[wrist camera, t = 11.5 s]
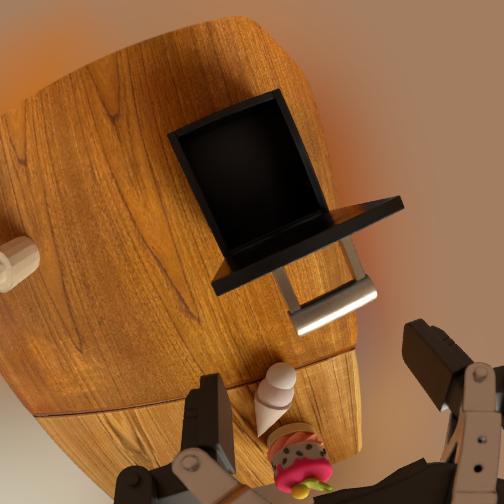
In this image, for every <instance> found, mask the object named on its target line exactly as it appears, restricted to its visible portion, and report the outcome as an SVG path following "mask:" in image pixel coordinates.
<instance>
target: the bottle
mask: <svg viewBox="0 0 504 504" xmlns="http://www.w3.org/2000/svg"><path fill="white" fill-rule="evenodd" d="M39 262H40V254H39V250H38V248H37V246H36V244H35V243H34V241H33V240H32V239H30V238H29V237H26V236H20V237H17V238H15V239H13V240H11V241H9V242H7V243H5V244H3V245H1V246H0V292H8V291H9V290H10V289H12V288H13V287H14V286H16V285H17V284H18V283H20V282H21V281H22V280H23V279H25V278H26V277H27V276H29V275H30V274H31V273H33V272H34V271H35V270H36V269H37V268H38V266H39Z"/></svg>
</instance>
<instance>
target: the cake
mask: <svg viewBox="0 0 504 504" xmlns="http://www.w3.org/2000/svg"><path fill="white" fill-rule="evenodd" d="M318 439H319V438H318V436H317V433H316V431H315V429H314V427H313V426H311V425H310V424H307V423H291V424H287V425H284V426H282V427H279V428H278V429H276V430H275V431H273V432H272V433H271V434H270V435H269V437H268V439H267V446H268V453H267V460H268V461H269V462H270V464H271V465H272V467H273V470H274V480H275V484H276V487H277V488H278V489H280V490H281V491H284V492H289V493H291V494H292V496H293V497H294V498H296V499H303V498H305V497H306V496H307V495H308V494H309V490H311V489H316V490H319V491H323V490H325V491H326V492H327V493H331V492H332V491H331V489H332V486H330V485H328V484H326V483H324V482H326V481H327V480H328V479H329V478H330V476H331V474H332V466H331V464H330V461H329V460H328V459H327V458H326V450H325V449H323V448H322V445H323V442H321V441H318Z"/></svg>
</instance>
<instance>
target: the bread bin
mask: <svg viewBox="0 0 504 504" xmlns="http://www.w3.org/2000/svg"><path fill="white" fill-rule="evenodd" d="M167 137H168V139H169V141H170V143H171V145H172V148H173V150H174V152H175V154H176V156H177V159H178V161H179V163H180V165H181V167H182V170H183V172H184V174H185V176H186V178H187V180H188V183H189V185H190V187H191V189H192V191H193V193H194V195H195V197H196V200H197V202H198V204H199V206H200V208H201V210H202V212H203V214H204V217H205V219H206V221H207V223H208V225H209V227H210V229H211V231H212V233H213V235H214V237H215V240H216V242H217V244H218V246H219V248H220V250H221V252H222V254H223V256H224V258H227V257H229V256H231V255H234V254H236V253H238V252H240V251H242V250H245V249H247V248H249V247H251V246H253V245H255V244H258V243H260V242H262V241H264V240H266V239H269V238H271V237H273V236H275V235H277V234H280V233H282V232H284V231H286V230H288V229H291V228H293V227H295V226H297V225H299V224H302V223H304V222H306V221H308V220H310V219H313V218H315V217H317V216H319V215H321V214H324V213H326V212H328V211H329V209H328V206H327V204H326V201H325V198H324V195H323V193H322V190H321V187H320V185H319V182H318V179H317V177H316V174H315V172H314V169H313V166H312V164H311V161H310V159H309V156H308V154H307V151H306V149H305V146H304V144H303V142H302V139H301V137H300V134H299V132H298V130H297V127H296V125H295V123H294V120H293V118H292V116H291V113H290V111H289V109H288V107H287V104H286V102H285V100H284V98H283V95H282V93H281V91H280V89H276V90H273V91H270V92H267V93H264V94H262V95H259V96H256V97H253V98H251V99H248V100H245V101H243V102H240V103H238V104H235V105H233V106H230V107H228V108H225V109H223V110H220V111H218V112H215V113H213V114H211V115H208V116H206V117H204V118H202V119H199V120H197V121H195V122H193V123H190V124H188V125H186V126H184V127H182V128H180V129H177V130H175V132H174V131H173V132H171V133H169V134H167Z"/></svg>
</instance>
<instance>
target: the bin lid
mask: <svg viewBox="0 0 504 504" xmlns="http://www.w3.org/2000/svg"><path fill="white" fill-rule="evenodd" d="M402 209H404V205H403V202H402V200H401V197H400V196H396V197H391V198H386V199H381V200H376V201H372V202H367V203H363V204H358V205H354V206H349V207H344V208H340V209H335V210H331V211H328V212H326V213H324V214H321V215H319V216H317V217H315V218H313V219H310V220H308V221H306V222H304V223H302V224H299V225H297V226H295V227H293V228H291V229H288V230H286V231H284V232H282V233H280V234H277V235H275V236H273V237H271V238H269V239H266V240H264V241H262V242H260V243H258V244H255V245H253V246H251V247H249V248H247V249H245V250H242V251H240V252H238V253H236V254H234V255H231V256H229V257H227V258H225V259H224V261H223V262H222V264H221V266H220V268H219V270H218V271H217V273H216V275H215V277H214V279H213V280H212V282H211V285H212V287H213V289H214V291H215V293H216V295H217V296H220V295H222V294H224V293H227V292H229V291H231V290H233V289H236V288H238V287H240V286H242V285H244V284H247V283H249V282H251V281H253V280H255V279H258V278H260V277H262V276H264V275H266V274H269V273H271V272H272V274H273V276H274V278H275V280H276V282H277V285H278V287H279V289H280V291H281V294H282V296H283V298H284V300H285V303H286V305H287V307H288V309H289V311H287V313H288V316H289V318H290V320H291V323H292V325H293V327H294V329H295V331H296V333H297V335H298V337H302V336H304V335H306V334H308V333H310V332H312V331H314V330H316V329H318V328H321V327H323V326H325V325H327V324H329V323H331V322H333V321H335V320H337V319H339V318H341V317H343V316H344V315H346V314H348V313H350V312H352V311H354V310H356V309H358V308H360V307H362V306H364V305H365V304H367V303H369V302H371V301H372V300H375V299H376V298H377V291H376V288H375V285H374V283H373V282H372V280H371V278H370V277H369V276H368V275H367V274H365V273H364V270H363V267H362V265H361V262H360V260H359V257H358V254H357V252H356V250H355V247H354V244H353V242H352V239H351V237H350V235H351V234H353V233H355V232H357V231H360V230H362V229H364V228H366V227H368V226H370V225H372V224H374V223H376V222H378V221H380V220H382V219H384V218H386V217H388V216H390V215H392V214H394V213H396V212H398V211H400V210H402ZM337 241H338V242H339V245H340V247H341V250H342V252H343V255H344V257H345V260H346V262H347V265H348V267H349V270H350V272H351V275H352V278H353V280H351V281H349V282H347V283H345V284H343V285H341V286H339V287H337V288H335V289H333V290H331V291H329V292H327V293H325V294H323V295H321V296H318V297H316V298H314V299H312V300H310V301H308V302H306V303H304V304H302V305H300V304H299V302H298V300H297V297H296V295H295V293H294V290H293V288H292V286H291V284H290V281H289V279H288V277H287V275H286V272H285V270H284V268H283V267H284V266H286V265H288V264H290V263H292V262H294V261H297V260H299V259H301V258H303V257H305V256H307V255H309V254H312V253H314V252H316V251H318V250H320V249H322V248H324V247H326V246H328V245H331V244H333V243H335V242H337Z"/></svg>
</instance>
